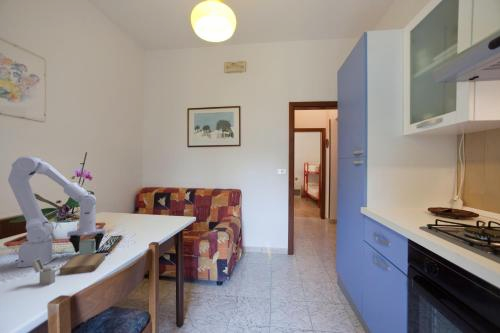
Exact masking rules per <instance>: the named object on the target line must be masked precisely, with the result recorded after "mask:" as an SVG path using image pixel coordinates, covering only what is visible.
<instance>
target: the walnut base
mask: <svg viewBox="0 0 500 333" xmlns="http://www.w3.org/2000/svg"><path fill="white" fill-rule="evenodd" d="M104 261H106V252H102V253H93V254H89V255H79V254H78V255H74V256H72V258H71V259H69V260H68V261H67V262H66V263H64V264H63V265H62V266H60V268H59V276H64V275H65V276H66V275H71V274H72V275H73V274H82V273H83V274H84V273H91V272H95V271H96V270H97V269H98V268H99V267H100V266H101V264H103V263H104Z"/></svg>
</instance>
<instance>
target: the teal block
mask: <svg viewBox="0 0 500 333" xmlns="http://www.w3.org/2000/svg"><path fill="white" fill-rule="evenodd" d="M95 245H96V244H95V238H93V239H91V238H90V239H82V241H80V243H79V252H78V255H89V254H95V252H96V251H95Z"/></svg>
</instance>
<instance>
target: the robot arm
mask: <svg viewBox="0 0 500 333" xmlns="http://www.w3.org/2000/svg"><path fill="white" fill-rule="evenodd" d="M35 174H38V175H44V176H47V177H48V178H49V179H51V180H52V181H54V182H55V183H57V185H59V186H60V187H62V188H63V193H64V194H66V195H67V196H68V197H70V198H71V199H72V200H74V201H75V202H77V203H78V206H79V207H80V209H79V210H80V211H79V229H77V230H72V231H71V230H70V231H68V232H67V235H66V236H67V237H68V241H69V242H70V243H71V245H72V246H73V250H74V252H75V253H79V243H80V242H81V236H94V239H95V252H96V251H99V250H100V246H101V242H102V240H103V239H104V236H105V235H106V234H107V233H108V231H107V230H108V229H107V228H105V229H104V228H96V219H97V218H96V217H97V216H96V215H97V214H96V208H97V207H96V203H97V198H96V196H95V195H94V194H93V193H91V191H87V190H86V189H85V188H83V187H82V186H83V185H82V184H81V183H77V182H71V181H70V180H69V179H67V178H66V177H65V176H64V175H63V174H62V173H60V172H59V171H58V170H57V169H56V168H55V167H54V166H52V165H51V164H50V163H48V162H47V161H44V160H43V159H42V158H40V157H38V156H29V155H24V156H20V157H18V158H17V159H16V160H15V161H14V162H12V163H11V170H10V173H9V176H8V177H7V178H8V179H7V182H8V184H9V186H10V188H11V191H12V192H13V193H12V194H13V195H14V197H15V199H16V201H17V204H18V206H19V207H20V210H21V213H22V215H23V217H24V219H25V222H26V223H25V224H26V225H25V230H26V240H27V241H23V242H22V243H21V244H20V246H19V248H18V253H17V254H18V258H17V259H18V260H17V261H18V264H17V265H16V268H25V267H33V265H32V263H31V262H32V261H34V260H37V259H40V260H41V262H42V264H43V266H44V265H48V264H49V263H51V262H52V261H53V260H55V259H56V258H57V257H58V255H53V241H54V240H53V239H54V238H53V236H52V235H51V234H53V232H54V230H55V229H54V228H55V227H54V225H53V223H51V222H50V221H49V220H48V218H47V217H45V215H44V214H43V212H42V209H41V207H40V205H39V203H38V201H37V200H38V199H37V198H36V195H35V193H34V191H33V189H32V186H31V184H30V182H29V181H30V179H32V177H33V176H34V175H35Z"/></svg>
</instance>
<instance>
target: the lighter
mask: <svg viewBox="0 0 500 333" xmlns="http://www.w3.org/2000/svg"><path fill="white" fill-rule="evenodd" d="M31 263H32V265H33V266H32V268H33V269H34V272H35V273H36V274H37V273H39V285H52V284H54V283H55V282H56V269H55V268H53V269H52V267H51V266H46V267H44V265H43V264H42V262H41V260H40V259H37V260H34V261H32V262H31Z"/></svg>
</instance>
